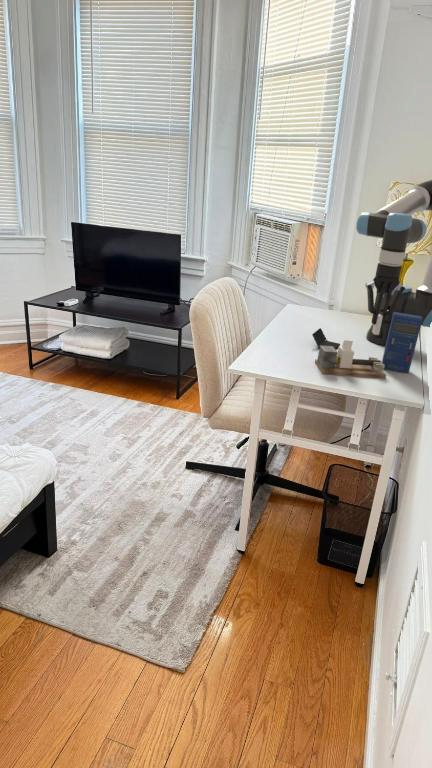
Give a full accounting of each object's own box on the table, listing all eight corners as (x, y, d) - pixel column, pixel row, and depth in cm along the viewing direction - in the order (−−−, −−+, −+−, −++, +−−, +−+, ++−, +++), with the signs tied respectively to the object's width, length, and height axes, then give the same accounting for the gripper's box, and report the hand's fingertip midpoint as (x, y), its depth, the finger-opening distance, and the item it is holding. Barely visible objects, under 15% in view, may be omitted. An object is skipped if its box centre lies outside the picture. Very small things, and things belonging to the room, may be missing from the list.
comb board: (374, 366, 189) (378, 347, 186) (385, 378, 179) (390, 358, 176) (314, 362, 187) (318, 343, 184) (322, 373, 177) (326, 353, 174)
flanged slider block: (346, 363, 184) (351, 338, 181) (350, 368, 180) (356, 343, 176) (335, 362, 184) (340, 337, 180) (339, 367, 180) (344, 342, 176)
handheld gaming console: (339, 349, 198) (327, 326, 198) (322, 358, 201) (309, 334, 200) (341, 345, 209) (329, 323, 209) (324, 353, 212) (313, 331, 211)
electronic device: (381, 369, 187) (394, 314, 179) (380, 364, 192) (393, 311, 184) (408, 374, 185) (423, 319, 177) (407, 369, 190) (421, 315, 182)
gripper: (404, 262, 173) (389, 330, 183) (366, 260, 172) (353, 328, 181) (414, 267, 166) (397, 338, 176) (374, 264, 165) (360, 336, 175)
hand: (375, 333), depth 179 cm, fingers closed
